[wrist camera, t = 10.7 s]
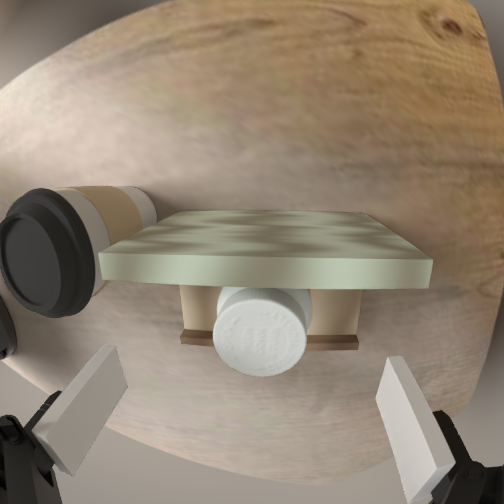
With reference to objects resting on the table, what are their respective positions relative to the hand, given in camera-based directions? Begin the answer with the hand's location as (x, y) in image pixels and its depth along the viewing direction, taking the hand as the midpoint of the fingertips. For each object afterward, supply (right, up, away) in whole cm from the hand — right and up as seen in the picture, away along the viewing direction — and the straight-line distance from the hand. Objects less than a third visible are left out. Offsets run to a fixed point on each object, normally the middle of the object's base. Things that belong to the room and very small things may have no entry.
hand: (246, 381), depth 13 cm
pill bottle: (+2, +4, +14) cm, 14 cm away
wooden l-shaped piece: (+2, +4, +16) cm, 16 cm away
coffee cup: (-12, +9, +16) cm, 22 cm away
